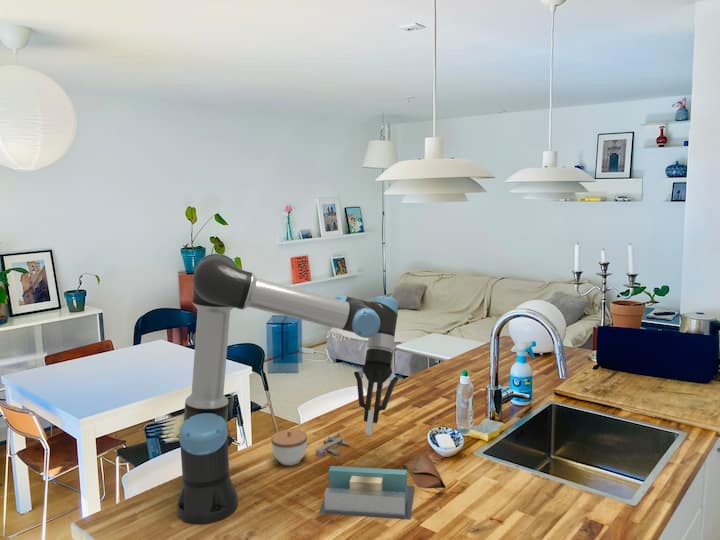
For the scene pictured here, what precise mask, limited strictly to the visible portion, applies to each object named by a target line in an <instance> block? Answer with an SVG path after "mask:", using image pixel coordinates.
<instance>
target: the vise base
mask: <svg viewBox="0 0 720 540" xmlns="http://www.w3.org/2000/svg"><path fill="white" fill-rule="evenodd" d="M415 487H416V485H407V504H406V502H405V492H390V491H373V490H357V489H340V488H329V487H326V488H325V491H324V493H323V495H324V498H323V501H322V504H321V506H320V508H319V510H318V514H323V515H337V516H349V517H351V516H352V517H367V518H379V519H393V520H411V519H412V513H413V511H412V510H413V504H414V496H415V489H416V488H415Z"/></svg>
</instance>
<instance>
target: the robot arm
mask: <svg viewBox="0 0 720 540" xmlns="http://www.w3.org/2000/svg"><path fill="white" fill-rule="evenodd" d="M192 283H193V284H192V285H193V287H192V300H191V301H192V302H191V303H192V305H193V306H194V307H195V308H196V309H197V311H196V312H197V315H196V327H195V340H194V341H195V342H194V343H195V344H194V355H193V356H194V357H193V369H192V371H193V372H192V384H191V386H192V387H191V394H190V395H189V396H187V398H185V402H184V416H183V422H182V423H181V425H180V427H179V434H178V440H179V443H180V445H179V446H180V457H181V473H182V485H181V489H180V494H179V497H178V501H177V515H178V517H179V519H180V520H181V521H183V522H185V523H189V524H194V525H203V524H205V525H206V524H212V523H215V522H219V521H221V520H224V519H226V518H227V517H230V516H231V515H232V514H233V513H234V512H235V511H236V510H237V508H238V505H239V498H238V497H239V496H238V492H237V490H236V488H235V485H234V483H233V480H232V479H231V475H230V461H229V459H230V458H229V446H228V445H229V444H228V443H229V442H228V434H229V433H228V432H229V429H228V425H227V424H228V415H229V414H228V413H229V399H228V398H227V396H225V392H224V391H225V382H226V381H225V380H226V379H225V378H226V367H227V366H226V365H227V353H228V343H229V342H228V341H229V340H228V339H229V330H230V329H229V327H230V316H231V315H230V314H231V311H232V310H233V309H237V310H238V309H239V310H245V309H247V308H252V309H256V310H260V311H265V312H268V313H273V314H276V315H281V316H284V317H289V318H293V319H298V320H302V321H305V322H310V323H313V324H319V325H322V326H327V327H330V328H336V329H340V330H341V331H346V332H349V333H350V332H351V333H353V334H355V335H357V337H360V338H364V339H367V345H366V347H367V350H366V352H365V353H366V354H365V358H364V359H365V360H364V361H365V362H364V365H363V366H362V369H360V370H357V371H354V373H353V375H354V377H355V379H356V387H357V396H358V398H357V399H358V405H359V407H361V408H363V410H364V414H363V422H366V426H365V427H366V430H365V435H367V436H373V434H374V433H373V431H374V424H377V423H378V421H379V415H380V412H381V411H385V410H386V409H387V407H388V404H389V401H390V398H391V396H392V394H393V390H394V388H395V386H396V385H397V383H398V382H399V380H400V379H399V376H396V375H395V374H394V373H393V370H392V362H393V361H392V360H393V355H394V354H393V352H392V351H393V350H394V344H395V335H396V329H397V322H398V317H399V302H398V300H397V299H395V298H393V297H390V296H384V295H380V296H379V295H378V296H375V297H374V298H373V300H372V301H368V300H364V299H360V298H359V299H358V298H356V297H355V298H354V297H351V296H349V295H336V296H335V297H330V296H326V295H323V294H319V293H315V292H311V291H307V290H303V289H299V288H296V287H293V286H288V285H284V284H281V283H276V282H273V281H269V280H265V279H261V278H258V277H256V275H255V273H254V272H251V271H248V270H247V271H246V270H245V269H244V270H243V269H242V268H239V267H238V266H237V264H236V262H235V261H234V260H233V259H232V258H231V257H230V256H228V255H225V254H221V253H211V254H208V255H205V256H203V257H202V258H200V260H198V261H197V262H196V265H195V267H194V269H193V277H192ZM364 376H365V378H366V379H367V381H368V382H367V390H366V399H365V396H364V385H363V378H364ZM388 379H389V384H388V387H387V389H386V391H385V395H384V396H383V397H384V398H383V401H382V403H381V400H382V392H383V386H384V383H385V382H387V380H388ZM375 383H376V391H375V392H376V393H375V399H374V408H373V409H374V410H372V409H371V405H372V398H373V393H374V387H375Z"/></svg>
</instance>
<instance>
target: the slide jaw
mask: <svg viewBox="0 0 720 540" xmlns="http://www.w3.org/2000/svg"><path fill="white" fill-rule="evenodd" d="M351 476H364V477H382V478H383V491H390V492H405V502H406V504H407V486H408V469H397V468H396V469H391V468H380V467H379V468H376V467H374V468H373V467H355V466H343V465H342V466H341V465H340V466H339V465H338V466H337V465H330V466H329V469H328V485H329V486H328V488H340V489H350V479H351Z"/></svg>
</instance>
